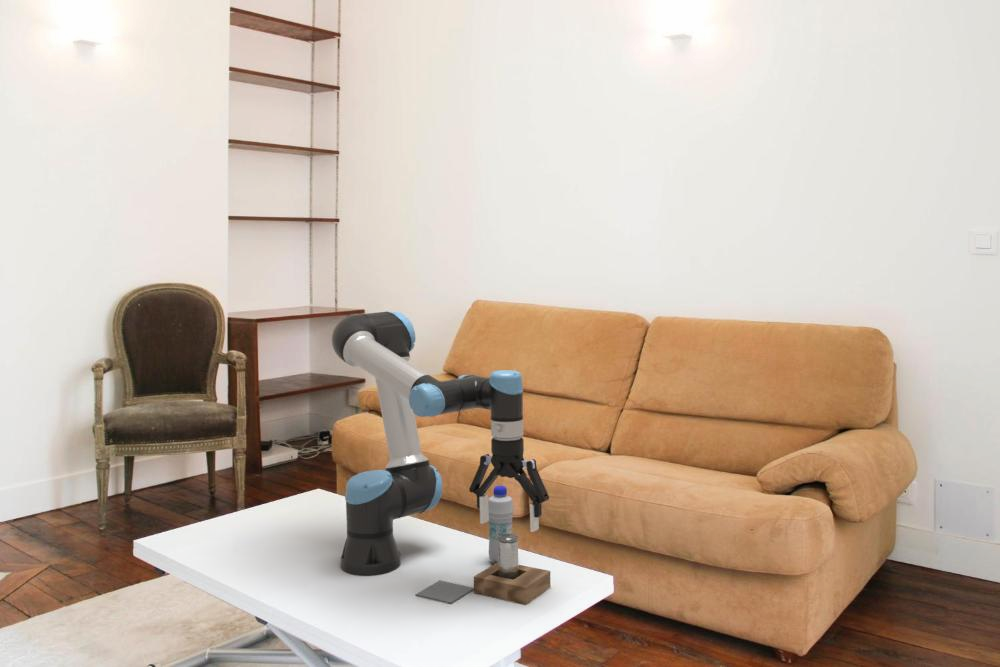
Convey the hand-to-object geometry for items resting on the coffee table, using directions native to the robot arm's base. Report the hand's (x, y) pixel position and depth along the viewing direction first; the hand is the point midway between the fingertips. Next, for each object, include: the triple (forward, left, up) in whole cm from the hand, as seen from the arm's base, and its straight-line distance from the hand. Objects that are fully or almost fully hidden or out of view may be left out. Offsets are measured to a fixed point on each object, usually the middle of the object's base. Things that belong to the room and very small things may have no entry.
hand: (509, 526), depth 215 cm
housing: (+1, 0, -15) cm, 15 cm away
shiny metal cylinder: (0, 0, -15) cm, 15 cm away
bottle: (-11, +15, -16) cm, 24 cm away
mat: (-12, -9, -15) cm, 22 cm away
